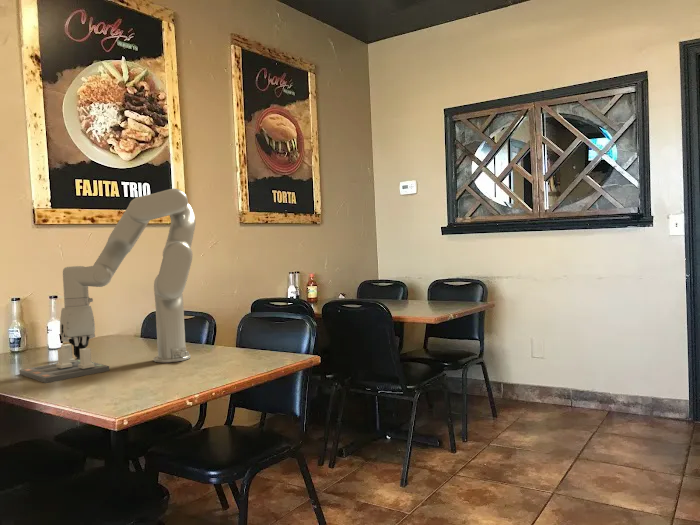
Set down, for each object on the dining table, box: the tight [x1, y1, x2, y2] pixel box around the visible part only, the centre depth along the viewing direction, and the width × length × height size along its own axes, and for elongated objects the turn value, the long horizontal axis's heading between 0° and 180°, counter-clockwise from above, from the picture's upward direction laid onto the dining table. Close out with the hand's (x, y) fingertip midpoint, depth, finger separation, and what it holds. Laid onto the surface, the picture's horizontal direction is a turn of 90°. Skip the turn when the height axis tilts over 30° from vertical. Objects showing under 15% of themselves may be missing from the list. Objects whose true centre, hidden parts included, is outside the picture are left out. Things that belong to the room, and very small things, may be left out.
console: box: [19, 359, 110, 384], centre depth 193 cm, size 22×20×2 cm
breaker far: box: [60, 343, 76, 363], centre depth 201 cm, size 4×4×6 cm
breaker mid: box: [55, 347, 72, 368], centre depth 193 cm, size 4×4×6 cm
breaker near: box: [78, 347, 94, 369], centre depth 191 cm, size 4×4×6 cm
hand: (79, 357), depth 197 cm, fingers closed
